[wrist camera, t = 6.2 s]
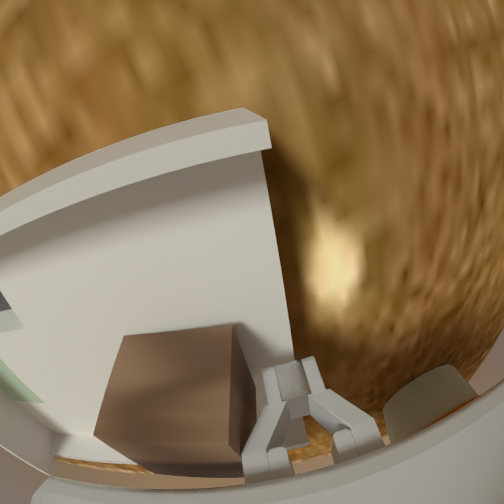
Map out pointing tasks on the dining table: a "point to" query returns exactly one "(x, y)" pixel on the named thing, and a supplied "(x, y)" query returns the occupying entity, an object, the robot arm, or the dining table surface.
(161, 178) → the box
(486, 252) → the dining table surface
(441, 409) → the reusable coffee cup
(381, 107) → the dining table surface
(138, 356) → the walnut cube
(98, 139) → the dining table surface
